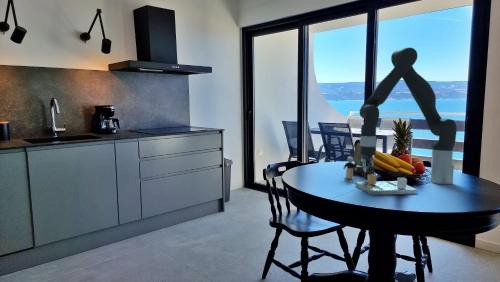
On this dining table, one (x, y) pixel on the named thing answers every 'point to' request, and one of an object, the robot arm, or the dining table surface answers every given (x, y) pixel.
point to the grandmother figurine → (349, 168)
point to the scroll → (358, 159)
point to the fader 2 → (401, 183)
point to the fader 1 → (371, 179)
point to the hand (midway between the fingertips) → (366, 179)
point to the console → (384, 188)
